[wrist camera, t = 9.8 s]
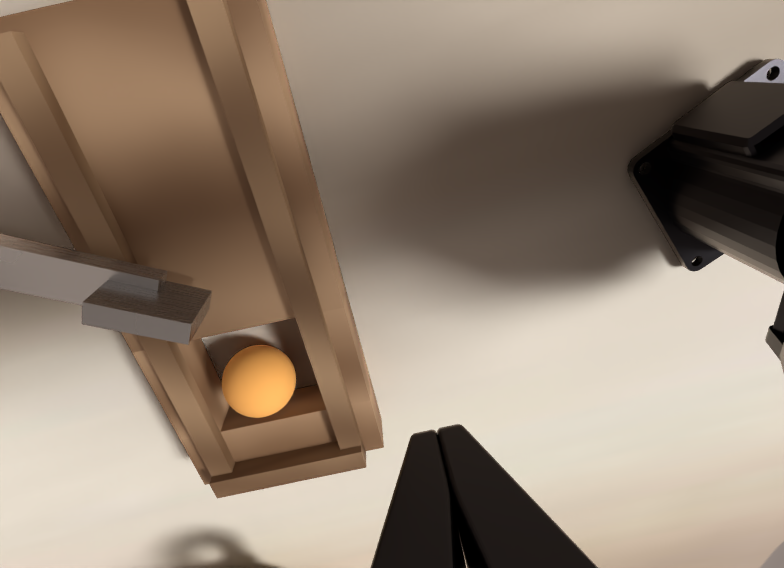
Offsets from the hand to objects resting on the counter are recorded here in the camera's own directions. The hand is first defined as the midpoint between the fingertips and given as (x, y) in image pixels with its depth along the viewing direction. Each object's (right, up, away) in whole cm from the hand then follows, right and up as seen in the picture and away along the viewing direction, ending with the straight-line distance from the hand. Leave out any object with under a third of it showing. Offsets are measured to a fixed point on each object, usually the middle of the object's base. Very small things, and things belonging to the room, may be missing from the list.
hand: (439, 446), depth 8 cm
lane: (-8, +3, +12) cm, 15 cm away
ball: (-7, -2, +15) cm, 16 cm away
